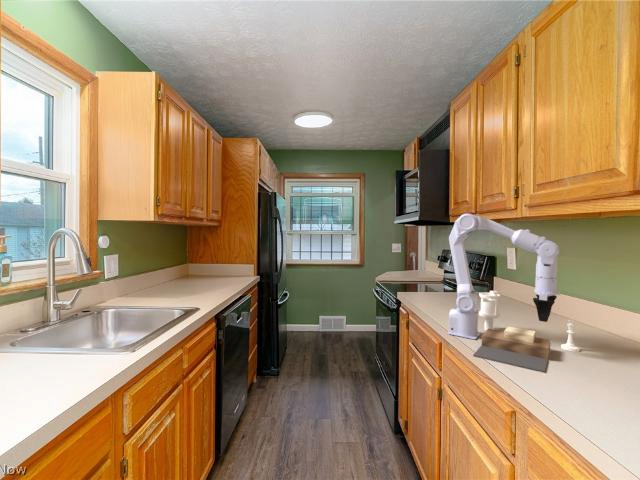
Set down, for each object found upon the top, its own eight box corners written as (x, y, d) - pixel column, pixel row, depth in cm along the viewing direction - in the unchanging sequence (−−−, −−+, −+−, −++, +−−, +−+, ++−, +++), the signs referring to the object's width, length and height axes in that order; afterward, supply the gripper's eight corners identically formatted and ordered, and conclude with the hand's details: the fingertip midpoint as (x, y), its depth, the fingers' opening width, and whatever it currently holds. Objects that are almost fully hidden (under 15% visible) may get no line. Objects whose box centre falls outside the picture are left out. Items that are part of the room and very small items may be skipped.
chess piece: (577, 353, 103) (578, 321, 102) (558, 348, 107) (559, 318, 106) (581, 349, 106) (582, 319, 106) (563, 345, 110) (564, 315, 109)
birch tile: (504, 337, 106) (504, 330, 106) (507, 332, 111) (507, 326, 111) (533, 342, 101) (533, 335, 101) (535, 337, 106) (535, 331, 106)
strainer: (503, 331, 124) (504, 292, 123) (489, 333, 121) (490, 293, 121) (487, 326, 130) (488, 289, 130) (474, 328, 128) (475, 290, 127)
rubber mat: (473, 356, 99) (473, 354, 99) (481, 346, 108) (481, 345, 108) (544, 372, 88) (544, 371, 88) (547, 360, 96) (547, 359, 96)
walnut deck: (481, 346, 108) (481, 335, 108) (488, 338, 116) (488, 328, 116) (547, 360, 97) (548, 348, 97) (550, 350, 105) (550, 339, 104)
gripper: (560, 281, 98) (558, 326, 99) (562, 276, 109) (560, 316, 110) (532, 278, 102) (530, 321, 103) (537, 274, 114) (535, 312, 114)
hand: (544, 318), depth 107 cm, fingers open, 7 cm apart
